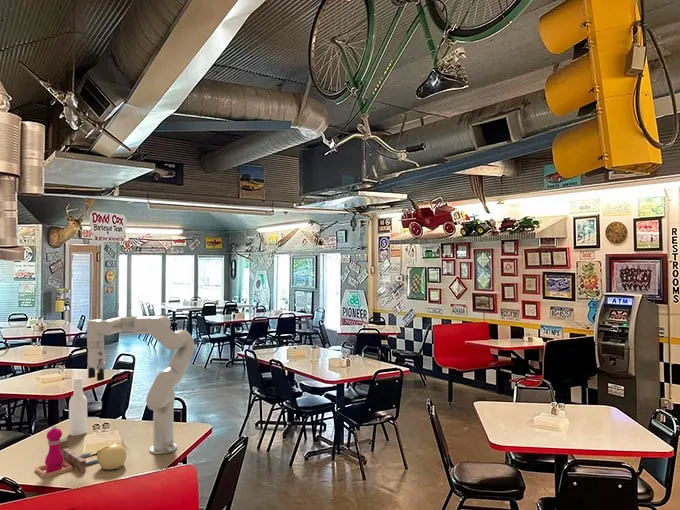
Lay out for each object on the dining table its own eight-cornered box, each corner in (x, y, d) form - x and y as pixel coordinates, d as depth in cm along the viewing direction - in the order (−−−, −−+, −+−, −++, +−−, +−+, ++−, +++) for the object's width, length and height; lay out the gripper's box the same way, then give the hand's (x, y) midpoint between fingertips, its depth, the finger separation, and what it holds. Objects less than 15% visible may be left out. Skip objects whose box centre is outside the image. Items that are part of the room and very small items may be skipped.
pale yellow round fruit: (118, 459, 235) (118, 436, 235) (131, 466, 227) (130, 442, 227) (93, 467, 226) (93, 443, 226) (106, 474, 219) (105, 450, 219)
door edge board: (88, 470, 223) (88, 452, 223) (78, 473, 220) (78, 455, 220) (64, 454, 242) (64, 438, 242) (55, 457, 239) (55, 440, 239)
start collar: (108, 459, 236) (108, 456, 236) (83, 466, 227) (83, 463, 227) (98, 452, 243) (98, 449, 243) (73, 460, 235) (73, 456, 235)
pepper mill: (43, 474, 219) (43, 428, 219) (47, 468, 226) (47, 423, 226) (61, 472, 221) (61, 427, 221) (65, 466, 228) (65, 422, 228)
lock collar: (72, 469, 224) (72, 466, 224) (44, 478, 215) (44, 474, 215) (63, 462, 232) (63, 459, 232) (35, 470, 223) (35, 467, 223)
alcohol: (69, 432, 274) (69, 377, 274) (87, 429, 277) (87, 375, 278) (68, 437, 266) (68, 380, 266) (86, 434, 269) (86, 379, 270)
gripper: (111, 345, 246) (111, 379, 246) (95, 342, 257) (96, 375, 257) (95, 347, 240) (96, 383, 240) (80, 344, 252) (80, 378, 251)
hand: (96, 378), depth 249 cm, fingers open, 9 cm apart
